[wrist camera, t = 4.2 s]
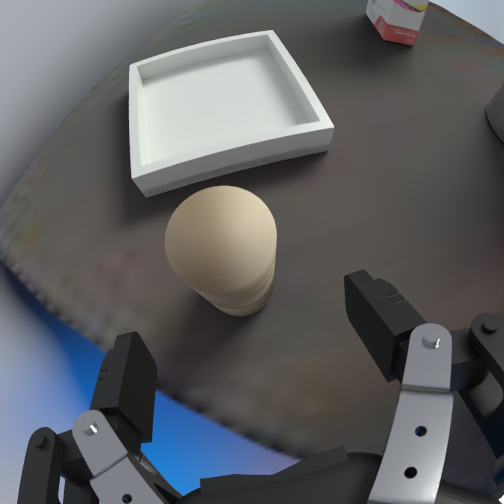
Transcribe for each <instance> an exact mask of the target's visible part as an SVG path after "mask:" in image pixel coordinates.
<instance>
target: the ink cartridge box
mask: <svg viewBox="0 0 504 504" xmlns="http://www.w3.org/2000/svg"><path fill="white" fill-rule="evenodd" d="M428 2H429V0H369V1H368V5H367V10H366V14H367V16H368V17H369V19H370V20H371V22H372V23H373V25H374V26H375V28H376V29H377V31H378V32H379V34H380V35H381V37H382V39H383V40H387V41H392V42H397V43H402V44H406V45H411V46H413V45H414V43H415V40H416V37H417V34H418V32H419V29H420V26H421V23H422V20H423V17H424V14H425V11H426V8H427V5H428Z"/></svg>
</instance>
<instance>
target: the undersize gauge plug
mask: <svg viewBox="0 0 504 504" xmlns="http://www.w3.org/2000/svg"><path fill="white" fill-rule="evenodd" d="M276 238H277V233H276V226H275V222H274V219H273V216H272V214H271V212H270V211H269V209H268V207H267V206H266V205H265V204H264V203H263V202H262V201H261V200H260V199H259V198H258V197H257V196H255V195H254V194H252V193H250V192H249V191H246V190H244V189H241V188H237V187H232V186H215V187H210V188H206V189H203V190H201V191H199V192H196V193H195V194H193V195H191V196H190V197H188V198H187V199H186V200H185V201H183V202H182V203H181V204H180V205H179V206H178V208H177V209H176V210H175V212H174V213H173V215H172V216H171V218H170V221H169V223H168V226H167V229H166V234H165V251H166V255H167V258H168V261H169V263H170V265H171V267H172V269H173V270H174V271H175V273H176V274H177V275H178V276H179V277H180V278H181V279H182V280H183V281H184V282H186V283H187V284H188V285H189V286H190V287H192V288H193V289H194V290H195V291H197V292H198V293H199V294H200V295H202V296H203V297H204V298H205V299H207V300H208V301H209V302H210V303H212V304H213V305H214V306H216V307H217V308H218V309H219V310H221V311H222V312H224V313H226V314H228V315H232V316H239V317H241V316H248V315H251V314H254V313H256V312H258V311H259V310H260V309H262V308H263V307H264V306H265V305H266V303H267V302H268V300H269V299H270V297H271V294H272V290H273V281H274V268H275V254H276Z"/></svg>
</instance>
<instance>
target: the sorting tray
mask: <svg viewBox="0 0 504 504" xmlns="http://www.w3.org/2000/svg"><path fill="white" fill-rule="evenodd" d="M333 131H334V126H333V124H332V122H331V120H330V118H329V117H328V115H327V113H326V111H325V110H324V108H323V106H322V105H321V103H320V101H319V99H318V98H317V96H316V94H315V93H314V91H313V90H312V88H311V86H310V85H309V83H308V82H307V80H306V78H305V77H304V75H303V74H302V72H301V71H300V69H299V67H298V66H297V64H296V63H295V61H294V60H293V58H292V57H291V55H290V54H289V53H288V51H287V50H286V48H285V47H284V45H283V44H282V42H281V41H280V40H279V38H278V37H277V35H276V34H275V33H274V31H273V30H269V31H262V32H255V33H249V34H243V35H237V36H232V37H227V38H222V39H217V40H213V41H208V42H204V43H200V44H196V45H192V46H188V47H184V48H181V49H177V50H174V51H170V52H167V53H164V54H161V55H157V56H154V57H151V58H148V59H145V60H143V61H140V62H137V63H134V64H131V65H130V74H129V135H130V158H131V175H132V180H133V181H134V182H135V184H136V185H137V186H138V188H139V189H140V190H141V192H142V193H143V194H144V196H145V197H146V198H148V197H151V196H154V195H157V194H160V193H163V192H166V191H170V190H173V189H176V188H179V187H183V186H186V185H190V184H193V183H196V182H200V181H203V180H207V179H211V178H214V177H218V176H222V175H225V174H229V173H233V172H237V171H241V170H244V169H248V168H252V167H256V166H261V165H265V164H269V163H273V162H278V161H282V160H286V159H291V158H295V157H300V156H305V155H309V154H314V153H319V152H324V151H328V150H329V146H330V142H331V139H332V135H333Z"/></svg>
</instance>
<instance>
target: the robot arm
mask: <svg viewBox="0 0 504 504" xmlns="http://www.w3.org/2000/svg"><path fill="white" fill-rule="evenodd" d="M486 114H487V117H488V120H489V122H490V124H491V126H492V128H493V130H494V131H495V133H496V134H497V136H498V137H499V138H500V140H501V141H502V142H503V143H504V81H503V83H502V84H501V86H500V87H499V89H498V90H497V92H496V93H495V95H494V96H493V98H492V99H491V101H490V102H489V103H488V105H487V107H486ZM344 286H345V303H346V312H347V315H348V318H349V321H350V323H351V324H352V326H353V327H354V329H355V330H356V332H357V334H358V335H359V337H360V338H361V340H362V342H363V343H364V345H365V346H366V348H367V350H368V351H369V353H370V354H371V356H372V358H373V359H374V361H375V362H376V364H377V366H378V367H379V369H380V371H381V372H382V374H383V376H384V377H385V379H386V381H387V382H391V381H393V380H395V379H398V380H399V382H400V384H401V386H400V390H399V395H398V399H397V403H396V408H395V412H394V416H393V419H392V423H391V427H390V430H389V434H388V437H387V440H386V444H385V447H384V450H383V453H382V456H381V455H378V454H373V453H364V452H352V453H346V452H345V449H344V447H343V446H341V447H338V448H335V449H332V450H329V451H326V452H323V453H320V454H316V455H313V456H310V457H307V458H305V459H304V460H302V461H300V462H298V463H296V464H294V465H292V466H290V467H288V468H286V469H284V470H282V471H280V472H278V473H276V474H273V475H240V474H232V475H226V476H219V477H212V478H204V479H200V486H201V487H200V488H198V489H196V490H193V491H191V492H190V493H188V494H186V495H185V496H182V495H181V494H180V493H179V492H177V491H176V490H175V489H174V488H173V487H172V486H171V485H170V484H169V483H168V482H167V481H166V480H165V479H164V477H163V476H162V475H161V474H160V473H159V472H158V470H157V469H156V468H155V467H154V466H153V465H152V463H151V462H150V461H149V460H148V458H147V457H146V456H145V455H144V453H143V452H141V451H140V449H141V443H149V442H152V430H153V414H154V402H155V390H156V380H157V367H156V363H155V361H154V359H153V357H152V355H151V354H150V352H149V350H148V349H147V347H146V345H145V344H144V342H143V340H142V339H141V337H140V335H139V334H138V333H137V332H131V333H126V334H122V335H118V336H117V338H116V341H115V345H114V348H113V350H109V352H108V353H107V355H106V356H105V358H104V359H103V361H102V364H101V368H100V373H99V375H98V381H97V382H96V386H95V390H94V394H93V398H92V402H91V406H90V410H89V411H87V412H84V413H83V414H81V415H80V416H79V417H78V418H77V419H76V421H75V422H74V425H73V428H72V430H69V431H66V432H63V433H60V434H56V433H55V432H54V431H53V430H51V429H50V428H48V427H42V428H40V429H38V430H36V431H35V432H34V433H33V434H32V436H31V437H30V440H29V443H28V447H27V452H26V456H25V461H24V465H23V471H22V476H21V482H20V488H19V494H18V501H17V504H61V503H60V501H59V498H58V491H59V482H60V476H61V477H63V478H65V489H64V499H63V504H99V500H100V501H101V503H102V504H504V321H503V320H502V319H501V318H500V317H498V316H496V315H494V314H490V313H484V314H480V315H478V316H476V317H475V318H474V319H473V321H472V324H471V327H470V328H468V329H463V330H457V331H451V332H449V331H448V330H447V329H446V328H444V327H443V326H441V325H438V324H433V323H427V322H426V321H425V320H424V319H423V318H422V317H421V316H420V315H419V313H418V312H417V311H416V310H415V309H414V308H413V307H412V306H411V305H410V304H409V302H408V301H407V300H405V299H404V297H403V296H402V295H401V294H400V293H398V291H397V290H396V288H395V287H394V286H393V285H392V284H391V283H389V282H387V281H384V280H382V279H380V278H378V279H375V280H373V279H372V277H371V276H370V275H369V274H368V273H367V272H366V271H365V270H360V271H357V272H354V273H351V274H348V275H345V277H344ZM455 390H457V391H458V392H459V394H460V396H461V397H462V399H463V400H464V402H465V404H466V405H467V407H468V409H469V410H470V412H471V414H472V415H473V417H474V419H475V420H476V422H477V424H478V425H479V427H480V429H481V431H482V432H483V434H484V436H485V438H486V439H487V441H488V443H489V445H490V447H491V449H492V450H493V452H494V454H495V456H496V458H497V461H496V463H495V466H494V470H493V476H494V479H493V480H494V483H495V485H496V489H495V494H494V497H493V496H491V495H487V494H484V493H480V492H477V491H474V490H471V489H467V488H464V487H461V486H458V485H455V484H452V483H450V482H447V481H444V480H441V479H440V478H441V474H442V469H443V465H444V460H445V455H446V449H447V444H448V438H449V431H450V424H451V416H452V407H453V391H455Z"/></svg>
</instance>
